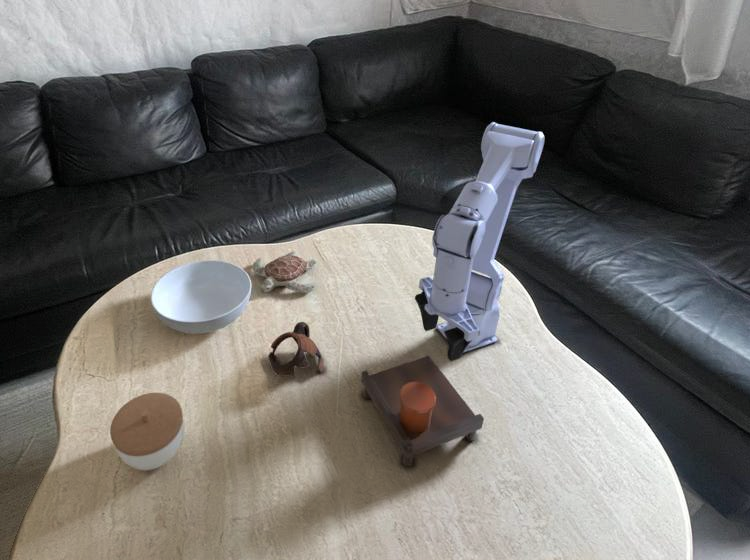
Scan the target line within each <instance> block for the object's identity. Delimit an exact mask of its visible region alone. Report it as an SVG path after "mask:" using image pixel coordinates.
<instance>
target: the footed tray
mask: <svg viewBox="0 0 750 560" xmlns="http://www.w3.org/2000/svg"><path fill="white" fill-rule="evenodd" d="M360 382H361V385H363V388H364V389H363V397H364V398H365V399H371V401H372V402H373V404H374V406H375V408H376V409H377V411H378V412H379V415H380V417H381V418H382V419H383V421H384V423H385V424H386V426H387V428H388V430H389V432H390V433H391V435H392V436H393V438H394V439H395V442H396V443H397V445H398V446H399V448H400V450H401V451H402V453H403V458H402V464H403V465H404V467H411V466H412V465H413V457H415V456H416V455H418V454H421V453H425V452H427V451H428V450H430V449H434V448H436V447H439V446H442V445H444V444H446V443H448V442H451V441H454V440H456V439H459V438H461V437H463V436H465V438H466V440H467V441H469V442H473V441H475V440H476V435H477V431H479V430H481V429H483V424H484V420H485V418H484V416H483V415H482V413H478V414H475V413H474V411H473V410H472V409H471V408H470V406H469V405H468V404H467V402H466V401H465V400H464V399H463V397H462V396H461V394H459V392H458V391H457V389H455V387H454V386H453V384H452V383H451V382H450V381H449V379H448V377H446V375H445V374H444V373H443V371H442V370H441V369H440V368H439V366H438V365H437V364H436V363H435V362H434V360H433V359H432V357H430V355H426V356H423V357H420V358H419V357H418V358H417V359H416V358H415V359H413V360H411V361H407V362H404V363H402V364H401V363H400V364H398V365H395V366H392V367H388V368H386V369H383V370H380V371H377V372H373V373H369V372H368V370H363V371H361V378H360ZM410 382H420V383H424V384H426V385H428V386H429V387H430V388H431V389H432V390H433V391H434V393H435V395H436V403H435V406H434V408H433V410H432V416H431V422H430V426H429V428H428V429H427V430H425V431H423V432H420V433H415V432H411V431H409V430H407V429H406V428H404V427H403V425H402V424H401V422H400V418H399V417H400V407H401V400H400V391H401V389H402V387H403V386H404V385H406V384H407V383H410Z"/></svg>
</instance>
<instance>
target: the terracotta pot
mask: <svg viewBox="0 0 750 560" xmlns="http://www.w3.org/2000/svg"><path fill="white" fill-rule="evenodd" d="M400 400H401V407H400V417H399V418H400V422H401V424H402V425H403V427H404V428H406V429H407V430H409V431H411V432H415V433H420V432H423V431H425V430H427V429H428V428H429V426H430V422H431V416H432V410H433V408H434V406H435V403H436V395H435V393H434V391H433V390H432V389H431V388H430V387H429V386H428V385H426V384H424V383H420V382H410V383H407V384H406V385H404V386H403V387H402V389H401V391H400Z"/></svg>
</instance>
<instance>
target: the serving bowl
mask: <svg viewBox="0 0 750 560" xmlns="http://www.w3.org/2000/svg"><path fill="white" fill-rule="evenodd" d="M252 288H253V287H252V280H251V277H250V275H249V274H248V273H247V271H246V270H244V268H242V267H241V266H238V265H236V264H235V263H232V262H229V261H224V260H220V259H219V260H218V259H205V260H196V261H191V262H188V263H184V264H181V265H179V266H176V267H174V268H173V269H171V270H169V271H167V272H166V273H164V274H163V275H162V276H161V277H159V279H158V280H157V281H156V283H155V284H154V285H153V287H152V289H151V293H150V304H151V307H152V308H153V311H154V313H155V315H156V316H157V318H158V319H159V320H160V321H161V322H162V323H163V324H164V325H166V326H167V327H168V328H170V329H171V330H175V331H177V332H181V333H184V334H195V335H196V334H207V333H211V332H215V331H218V330H220V329H223V328H225V327H227V326H229V325H230V324H231V323H233V322H235V321H236V320H237V319H238V318H239V317H240V316H241V315H242V314H243V312H244V311H245V309H247V306H248V304H249V301H250V299H251V294H252Z"/></svg>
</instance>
